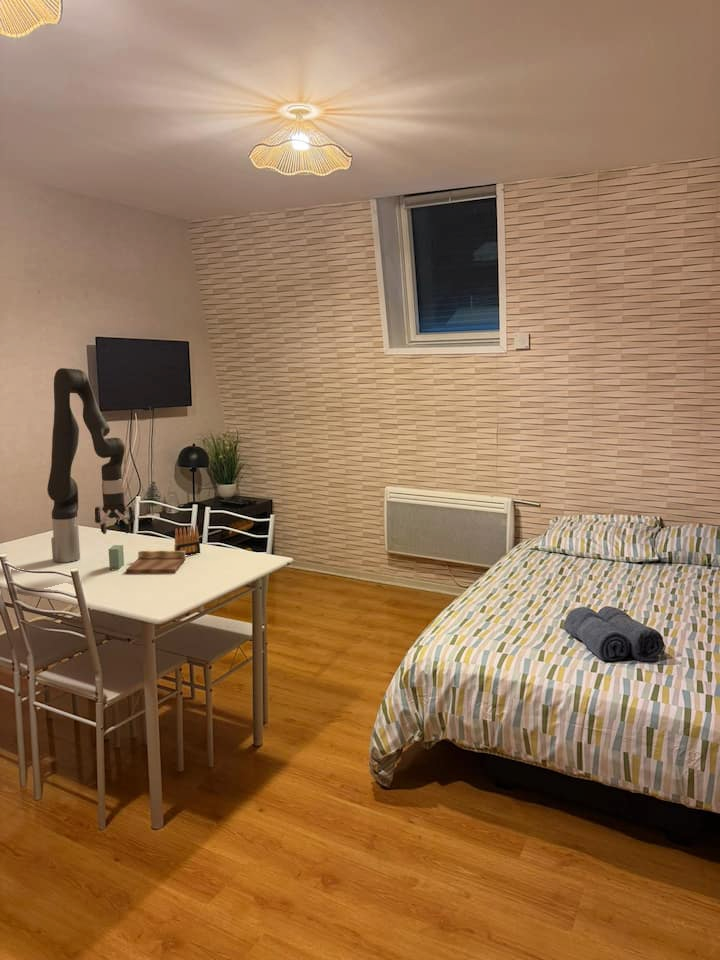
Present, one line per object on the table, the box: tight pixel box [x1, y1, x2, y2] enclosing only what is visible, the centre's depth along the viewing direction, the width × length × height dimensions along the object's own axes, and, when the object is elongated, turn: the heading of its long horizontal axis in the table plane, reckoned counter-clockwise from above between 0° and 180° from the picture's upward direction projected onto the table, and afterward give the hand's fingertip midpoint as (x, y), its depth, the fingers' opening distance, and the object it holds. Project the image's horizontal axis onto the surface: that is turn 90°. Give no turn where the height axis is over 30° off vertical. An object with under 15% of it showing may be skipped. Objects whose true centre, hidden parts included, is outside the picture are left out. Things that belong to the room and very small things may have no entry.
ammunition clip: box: [174, 524, 201, 556], centre depth 273 cm, size 11×2×12 cm, turn 132°
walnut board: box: [125, 550, 186, 574], centre depth 257 cm, size 18×17×4 cm
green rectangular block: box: [108, 544, 125, 570], centre depth 256 cm, size 4×7×8 cm, turn 2°
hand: (116, 533), depth 255 cm, fingers open, 8 cm apart
